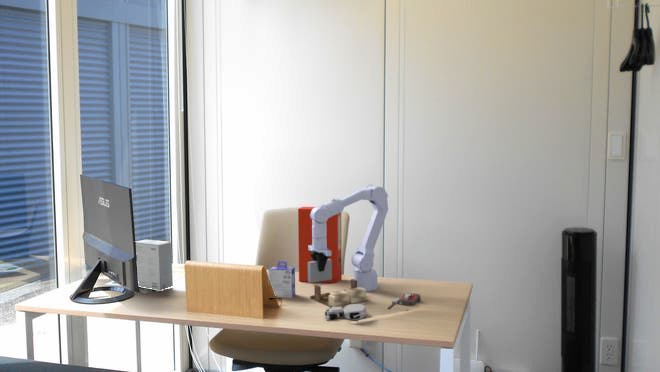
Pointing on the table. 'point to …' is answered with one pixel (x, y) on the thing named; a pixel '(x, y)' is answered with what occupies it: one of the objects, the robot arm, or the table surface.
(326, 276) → the grey rectangular slab
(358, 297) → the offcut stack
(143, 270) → the hard drive box
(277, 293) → the ink cartridge box
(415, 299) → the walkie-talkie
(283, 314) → the table surface
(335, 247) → the file binder
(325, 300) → the walnut rack
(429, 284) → the table surface
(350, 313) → the robot toy
